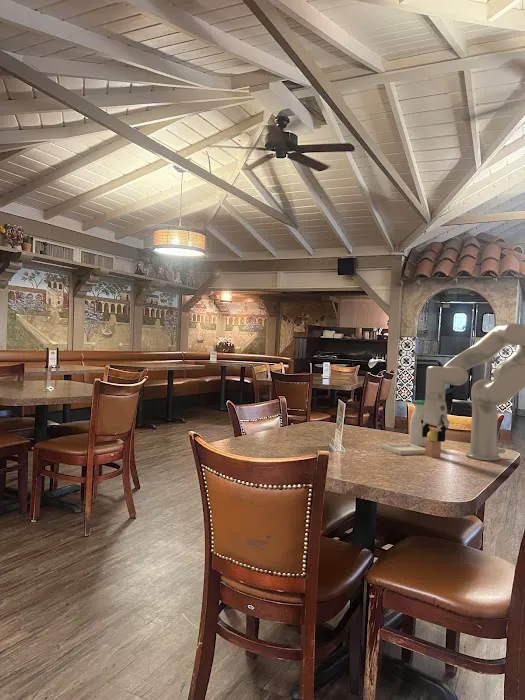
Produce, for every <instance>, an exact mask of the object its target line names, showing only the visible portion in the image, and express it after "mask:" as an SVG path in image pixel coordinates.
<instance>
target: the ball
mask: <svg viewBox="0 0 525 700" xmlns="http://www.w3.org/2000/svg"><path fill="white" fill-rule="evenodd" d="M437 436H438V430H435V429H434V430H433V429H430V431H429V432H428V434H427V440H429V441H431V442H438V441H437Z"/></svg>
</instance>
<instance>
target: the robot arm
mask: <svg viewBox="0 0 525 700" xmlns="http://www.w3.org/2000/svg"><path fill="white" fill-rule="evenodd" d="M508 345H511V346H514V345H515V346H516V348H515V351H513V352H512V353H511V355H510V356H508V357H507V358H506V359H505V360H504V361H503V362H501V363H499V365H497V366H496V367H495V369H494V370H493V372H492V378H493V379H479V380H477V381H475V382H474V383H473V385H472V386H471V389H470V398H471V410H472V411H471V429H470V432H471V433H470V451H467V452H466V453H465V456H466V457H467V458H470V459H474V460H481V461H487V462H489V461H491V462H492V461H493V462H495V461H500V460H501V456H500V455H499V454H505V453H506V449H505V448H502V447H501V448H499V447H498V446H497V438H498V437H497V436H498V434H497V433H498V421H499V420H498V413H499V412H498V406H502V405H504V404H506V403H507V402H510V400H512V398H514V397H515V396H516V395H517V394H518V393H520V392H521V391H522V390H523V389H524V388H525V323H513V322H511V323H510V322H509V323H501V324H498V325H497V326H494V327H493V328H492V329H491V330H490V331H489V332H487V333H486V334H485V335H484V336H483V337H482V338H480V339H479V340H478V341H477V342H476V343H475V344H473V345H472V346H470V347H468V348H467V349H465V350H464V351H461V353H459V354H457V355H455V356H454V357H453V358H452V359H451V360H449V361H448V362H447V363H445V365H443V366H439V365H430V366H427V368H426V374H425V375H426V379H425V397H424V401H425V403H424V409H423V414H422V415H420V419H421V423H422V427H423V429H422V437H427V434H428V432H429V431H431V427H430V426H436V428H437V432H438V436H437V441H438V442H441V443H442V442H446V432H447V430H448V428H449V426H450V424H451V423H450V420H448V407H447V401H446V385H451V386H462V385H464V384H466V383H467V381H468V380H469V374H468V370H470V369H471V368H473V367H477V366H479V365H483V364H485V363H487V362H489V361H490V360H492V359H493V358H494V357H495V356H497V354H499V353H500V352H501V351H503V350H504V349H505V348H507V346H508Z"/></svg>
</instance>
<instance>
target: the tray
mask: <svg viewBox="0 0 525 700" xmlns="http://www.w3.org/2000/svg"><path fill="white" fill-rule="evenodd" d="M380 447H381V448H380V449H382V450H385V451H387V452H391V453H394V454H396V455H398V456H409V455H411V456H415V455H425V447H423V446H416V445H413V444H410V443H409V442H407V443H404V442H403V443H381V446H380Z"/></svg>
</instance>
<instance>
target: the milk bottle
mask: <svg viewBox="0 0 525 700" xmlns="http://www.w3.org/2000/svg"><path fill="white" fill-rule="evenodd" d="M424 403H425V400H422V399H421V400H420V399H418V400H414V409H413V411H412V412H411V415H410V419H409V420H410V421H409V437H408V443H410V444H413V445H416V446H419V447H425V443H426V440H428V439H427V437H422V429H423V427H422V423H421V419H420V415H422V414H423V409H424Z"/></svg>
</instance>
